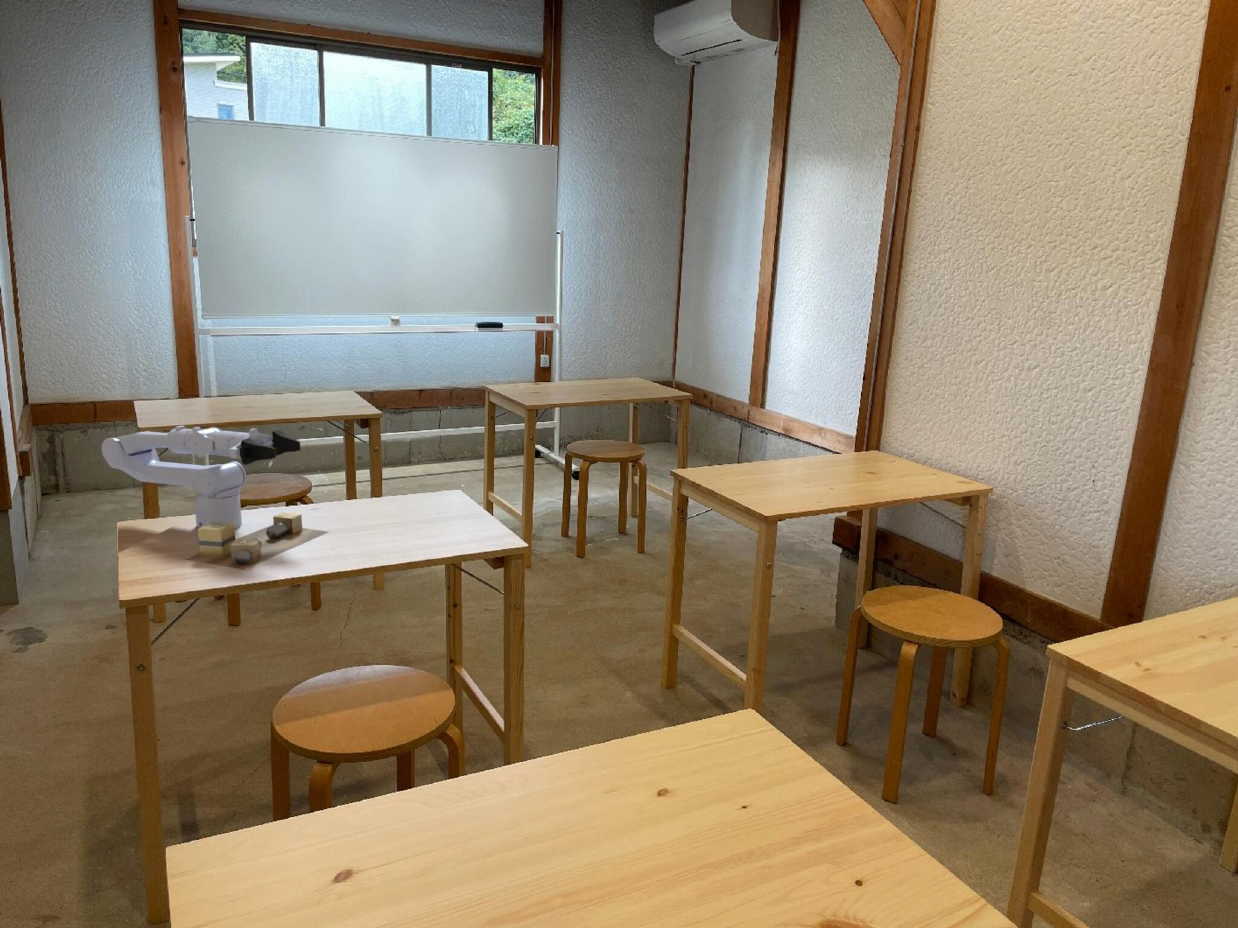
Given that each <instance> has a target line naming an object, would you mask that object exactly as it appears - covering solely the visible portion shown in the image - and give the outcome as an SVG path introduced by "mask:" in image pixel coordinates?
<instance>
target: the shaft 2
mask: <svg viewBox="0 0 1238 928" xmlns="http://www.w3.org/2000/svg"><path fill="white" fill-rule="evenodd" d="M272 516H273V515H272ZM302 517H303V516H302V514H301V513H293V512H283V511H282V512H281V513H277V514H276V515H274V516H273V517H272V519H273V524H274V525H273V524H272V525H273V526H271V525H270V526H271V527H269V528H268V529H267V530H266V534H267V536H268V538H270V539H276V538H278V537H280V536H282V535H284V534H290V535H294V534H296V533H298V532H300V531H302V528H303V520H302Z"/></svg>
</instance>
